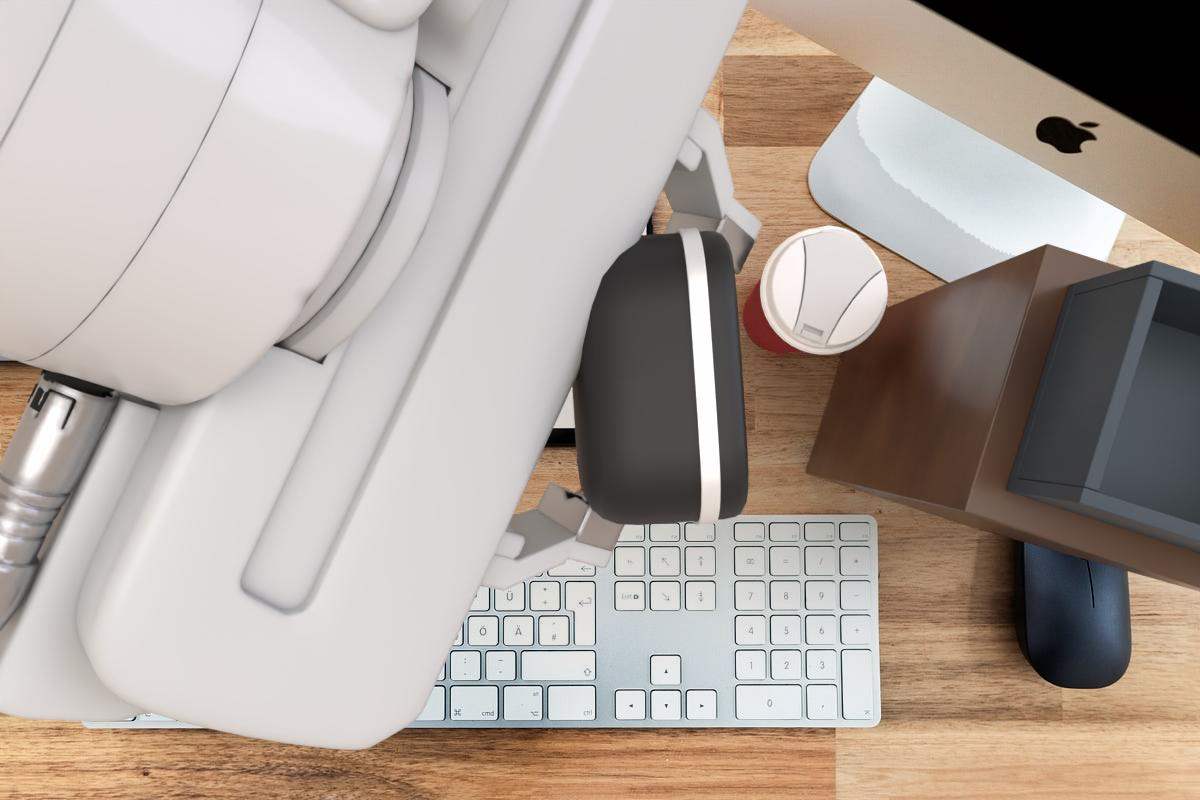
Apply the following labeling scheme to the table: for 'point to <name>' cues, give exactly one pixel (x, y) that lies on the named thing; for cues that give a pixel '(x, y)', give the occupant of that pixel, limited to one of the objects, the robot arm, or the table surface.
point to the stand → (971, 412)
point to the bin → (1121, 406)
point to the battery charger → (664, 386)
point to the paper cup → (817, 294)
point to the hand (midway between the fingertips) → (668, 388)
